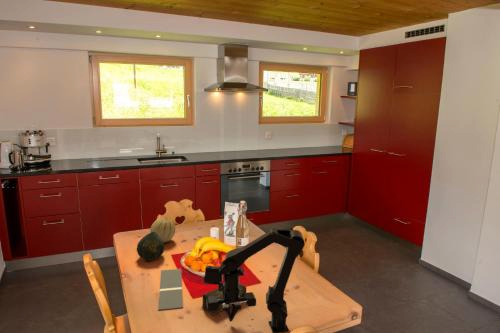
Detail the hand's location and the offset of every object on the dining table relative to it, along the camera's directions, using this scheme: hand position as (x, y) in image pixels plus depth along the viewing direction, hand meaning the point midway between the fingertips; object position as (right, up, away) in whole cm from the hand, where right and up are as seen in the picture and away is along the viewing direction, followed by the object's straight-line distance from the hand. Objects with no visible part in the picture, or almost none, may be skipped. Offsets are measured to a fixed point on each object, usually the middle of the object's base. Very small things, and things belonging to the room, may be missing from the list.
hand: (230, 320), depth 133 cm
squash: (-47, +10, +55) cm, 74 cm away
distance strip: (-29, +4, +25) cm, 39 cm away
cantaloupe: (-46, +14, +77) cm, 91 cm away
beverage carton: (-3, +1, +15) cm, 15 cm away
